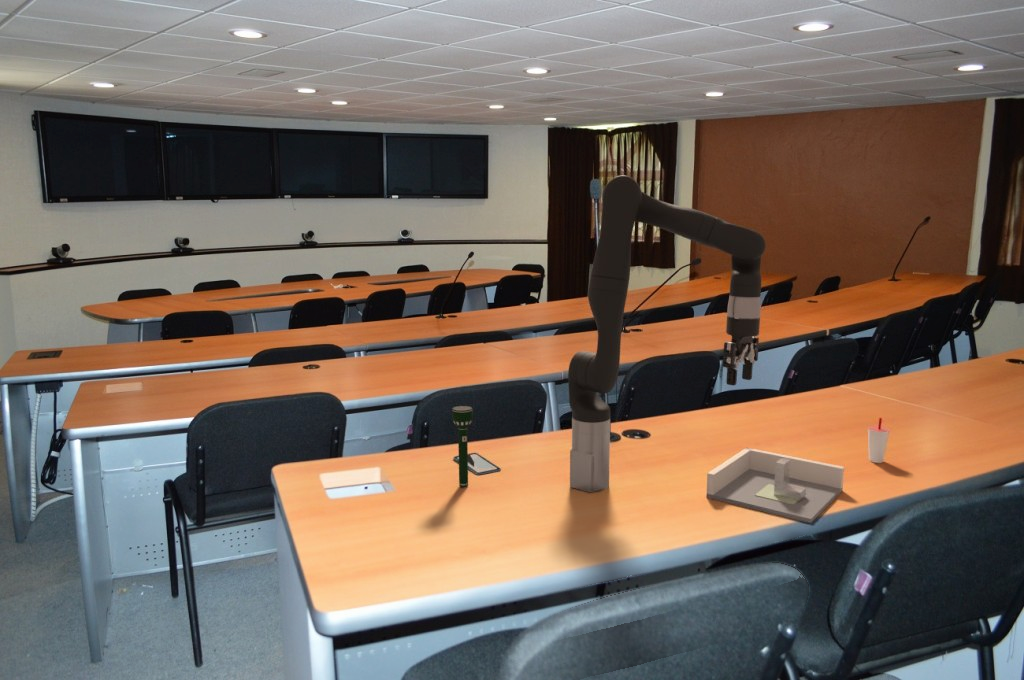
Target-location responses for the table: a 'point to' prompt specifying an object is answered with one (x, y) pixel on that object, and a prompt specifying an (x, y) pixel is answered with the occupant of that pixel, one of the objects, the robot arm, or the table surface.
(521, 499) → the table surface
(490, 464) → the smartphone
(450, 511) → the table surface
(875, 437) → the cup
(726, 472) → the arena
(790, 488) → the bracket
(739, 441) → the table surface
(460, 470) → the flashlight
